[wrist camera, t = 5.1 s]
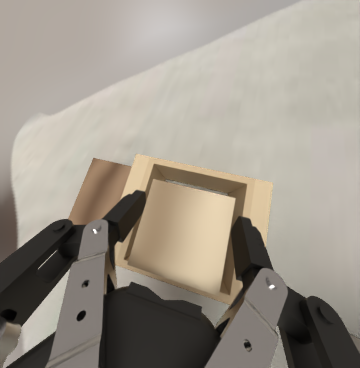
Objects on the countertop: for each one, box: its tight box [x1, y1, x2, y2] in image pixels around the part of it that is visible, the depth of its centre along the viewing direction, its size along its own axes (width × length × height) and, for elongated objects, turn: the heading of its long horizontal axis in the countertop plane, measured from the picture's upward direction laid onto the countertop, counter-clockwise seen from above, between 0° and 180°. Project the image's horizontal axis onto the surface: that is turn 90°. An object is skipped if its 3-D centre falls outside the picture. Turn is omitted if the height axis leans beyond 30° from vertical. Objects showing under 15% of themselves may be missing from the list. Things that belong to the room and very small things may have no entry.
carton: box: [115, 154, 273, 305], centre depth 19 cm, size 18×14×8 cm
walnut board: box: [68, 158, 132, 225], centre depth 24 cm, size 9×13×2 cm
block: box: [127, 179, 236, 296], centre depth 15 cm, size 5×5×16 cm
